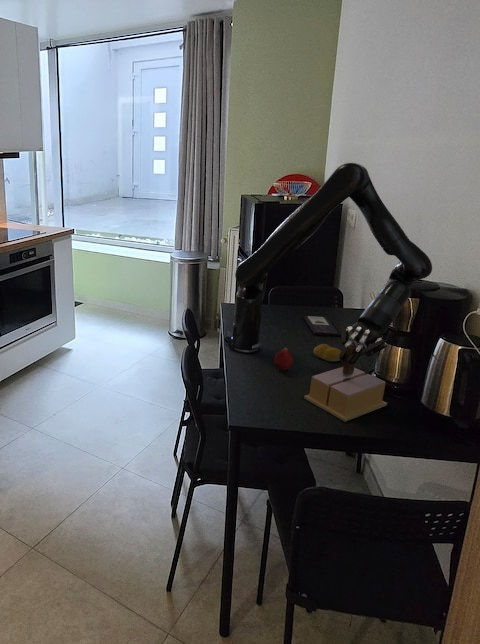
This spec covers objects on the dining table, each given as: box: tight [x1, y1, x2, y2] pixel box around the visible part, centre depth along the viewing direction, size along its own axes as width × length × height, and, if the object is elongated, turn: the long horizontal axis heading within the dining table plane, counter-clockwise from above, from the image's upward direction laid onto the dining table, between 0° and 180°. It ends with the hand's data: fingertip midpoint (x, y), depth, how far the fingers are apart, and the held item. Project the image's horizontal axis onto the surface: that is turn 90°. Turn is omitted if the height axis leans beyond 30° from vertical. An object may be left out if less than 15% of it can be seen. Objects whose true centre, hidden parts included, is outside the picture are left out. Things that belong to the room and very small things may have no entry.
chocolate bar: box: [303, 315, 340, 337], centre depth 195 cm, size 9×1×18 cm
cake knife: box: [342, 345, 357, 382], centre depth 136 cm, size 3×2×16 cm, turn 119°
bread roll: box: [313, 343, 342, 362], centre depth 168 cm, size 8×9×4 cm
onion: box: [273, 347, 294, 372], centre depth 157 cm, size 6×6×8 cm
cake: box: [303, 366, 388, 423], centre depth 138 cm, size 18×14×7 cm
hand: (345, 361), depth 134 cm, fingers closed on cake knife, 2 cm apart
